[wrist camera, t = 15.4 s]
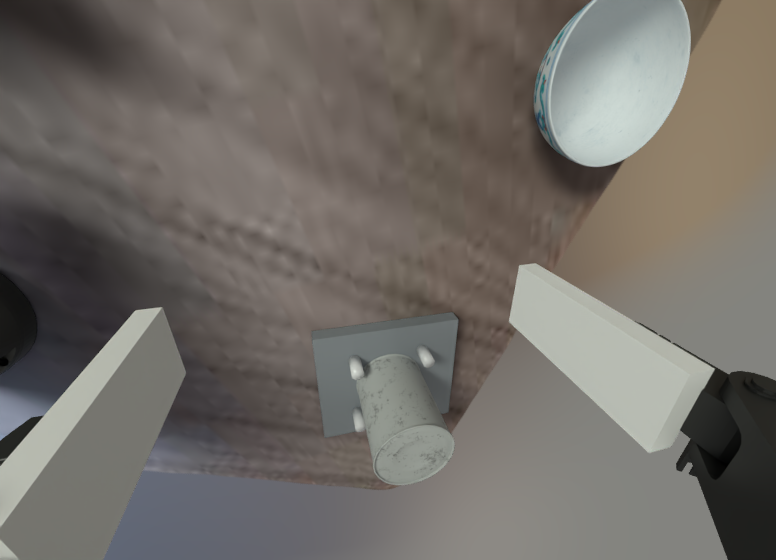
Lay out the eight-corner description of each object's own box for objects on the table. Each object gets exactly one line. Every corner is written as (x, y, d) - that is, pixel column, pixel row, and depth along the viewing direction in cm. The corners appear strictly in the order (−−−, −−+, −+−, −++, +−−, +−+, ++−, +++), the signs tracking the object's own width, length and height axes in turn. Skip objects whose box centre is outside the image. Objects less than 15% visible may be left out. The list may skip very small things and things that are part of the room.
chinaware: (477, 109, 36) (518, 106, 29) (569, -32, 32) (641, -74, 25) (557, 183, 42) (606, 194, 35) (642, 71, 38) (714, 60, 32)
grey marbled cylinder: (375, 415, 49) (396, 496, 38) (343, 376, 45) (357, 457, 34) (429, 383, 49) (466, 456, 38) (403, 342, 44) (436, 411, 34)
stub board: (323, 427, 50) (326, 455, 46) (311, 331, 43) (312, 355, 38) (443, 403, 55) (456, 427, 50) (452, 312, 47) (468, 331, 42)
